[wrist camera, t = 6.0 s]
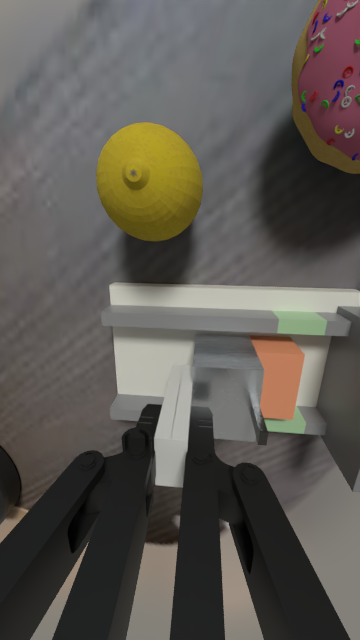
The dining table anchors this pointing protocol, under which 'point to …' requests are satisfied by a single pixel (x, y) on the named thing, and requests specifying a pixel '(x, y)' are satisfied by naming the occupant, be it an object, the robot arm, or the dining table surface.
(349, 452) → the board
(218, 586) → the robot arm
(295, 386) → the orange block
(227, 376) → the gauge plunger
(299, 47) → the cupcake
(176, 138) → the lemon
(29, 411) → the dining table surface
